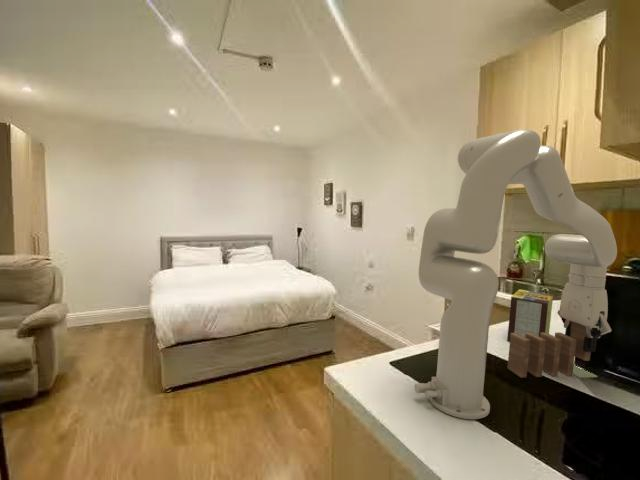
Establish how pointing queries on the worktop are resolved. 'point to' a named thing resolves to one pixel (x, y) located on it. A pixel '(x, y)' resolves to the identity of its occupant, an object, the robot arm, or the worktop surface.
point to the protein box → (530, 313)
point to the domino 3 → (551, 354)
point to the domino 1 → (518, 355)
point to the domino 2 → (536, 354)
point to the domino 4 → (566, 354)
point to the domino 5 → (579, 340)
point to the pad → (582, 373)
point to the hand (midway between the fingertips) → (579, 346)
